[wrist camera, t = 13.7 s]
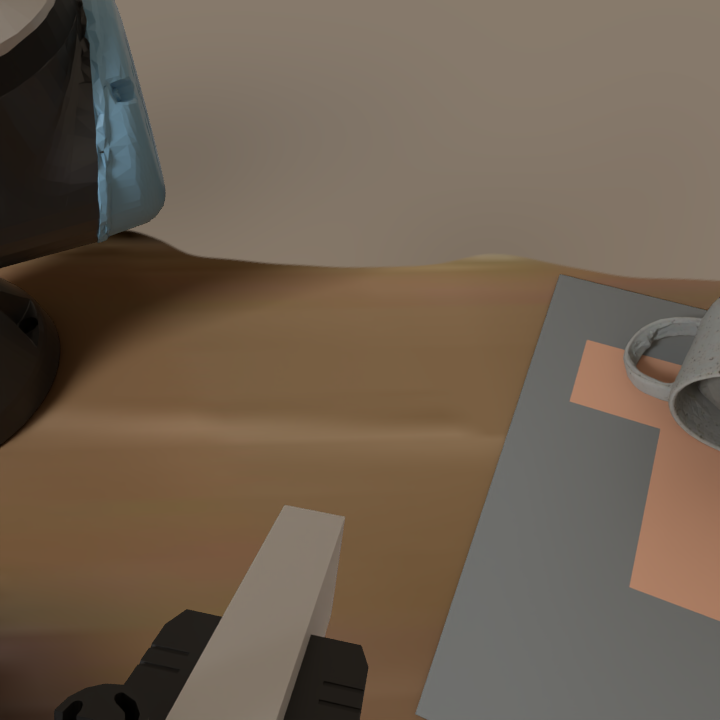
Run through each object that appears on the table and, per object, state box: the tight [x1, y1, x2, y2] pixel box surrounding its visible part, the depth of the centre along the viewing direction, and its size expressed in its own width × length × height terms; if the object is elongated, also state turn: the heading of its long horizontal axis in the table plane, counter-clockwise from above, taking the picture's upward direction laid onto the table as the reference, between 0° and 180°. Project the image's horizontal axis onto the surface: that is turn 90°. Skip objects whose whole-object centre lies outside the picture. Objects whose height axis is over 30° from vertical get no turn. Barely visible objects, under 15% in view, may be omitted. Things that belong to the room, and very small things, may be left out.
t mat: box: [416, 274, 720, 720], centre depth 34 cm, size 24×30×1 cm
